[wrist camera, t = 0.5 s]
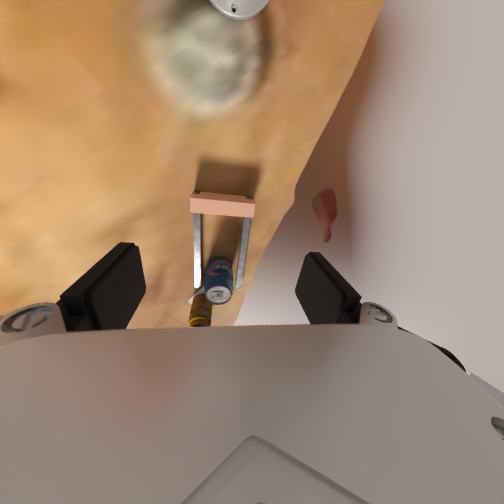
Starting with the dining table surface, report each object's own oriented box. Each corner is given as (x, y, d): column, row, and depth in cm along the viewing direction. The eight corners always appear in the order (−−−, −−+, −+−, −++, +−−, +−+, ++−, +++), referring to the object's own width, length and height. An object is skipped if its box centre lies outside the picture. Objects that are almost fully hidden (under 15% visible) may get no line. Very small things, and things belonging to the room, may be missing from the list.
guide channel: (194, 190, 41) (192, 193, 39) (251, 196, 43) (253, 199, 41) (196, 281, 54) (195, 287, 52) (240, 282, 56) (241, 288, 54)
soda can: (232, 255, 51) (234, 283, 40) (231, 275, 54) (233, 306, 44) (206, 255, 50) (202, 284, 39) (207, 275, 53) (203, 307, 43)
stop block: (194, 190, 41) (189, 197, 36) (251, 196, 43) (255, 204, 38) (194, 204, 42) (190, 212, 37) (249, 209, 45) (253, 217, 40)
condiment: (186, 301, 57) (178, 336, 47) (203, 285, 55) (199, 318, 45) (205, 311, 60) (202, 345, 50) (222, 296, 58) (222, 329, 48)
